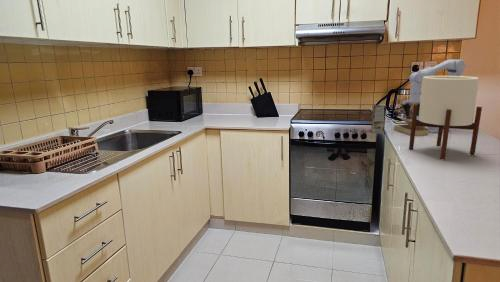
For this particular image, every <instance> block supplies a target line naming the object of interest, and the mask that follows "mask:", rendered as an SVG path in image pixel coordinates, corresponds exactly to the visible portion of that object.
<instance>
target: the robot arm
mask: <svg viewBox="0 0 500 282" xmlns="http://www.w3.org/2000/svg"><path fill="white" fill-rule="evenodd" d="M466 67H467V65H466V62H465V60H464V59H461V58H460V59H454V58H453V59H451V58H448V59H446V60H444V61H442V62H441V63H438V64H436V65H435V66H433V67H431V66H425V67H424V68H423V69H419V70H418V71H417V72H416V71H414V72H412V73H411V74H410V75H409V76H408V80H409V82H410V83H409V84H410V87H409V88H410V89H409V96H408V97H409V98H408V99H407V100H402V102H401V106H402V107H403V109H404V113H405V116H407V118H408V117H410V116H409V113H410V112H411V107H412V105H414V104H418V111H417V117H419V108H420V99H421V90H422V81H423V77H425V76H435V73H438V72H441V71H443V70H446V72H447V73H448V76H463V73H464V71H465V69H466ZM405 116H404V117H405ZM426 128H428V129H429V130H428V133H429V132H430V133H438V129H439V127H426ZM442 133H444V130H443V132H442Z"/></svg>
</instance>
